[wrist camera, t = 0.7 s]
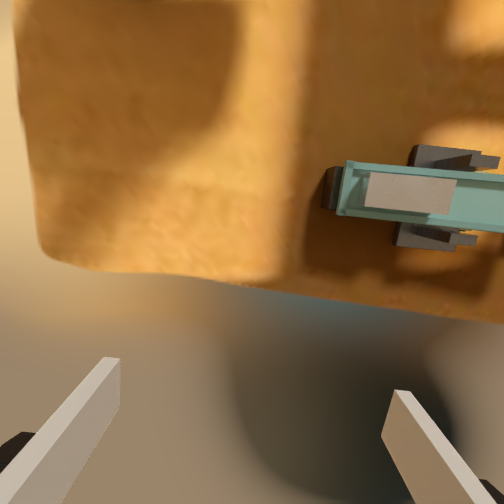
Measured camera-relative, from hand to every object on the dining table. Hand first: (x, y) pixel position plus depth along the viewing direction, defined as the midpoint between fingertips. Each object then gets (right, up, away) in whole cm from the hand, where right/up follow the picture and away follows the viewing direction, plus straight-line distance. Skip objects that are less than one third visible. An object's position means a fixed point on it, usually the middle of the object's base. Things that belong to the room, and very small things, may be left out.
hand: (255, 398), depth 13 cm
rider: (+16, +14, +17) cm, 27 cm away
